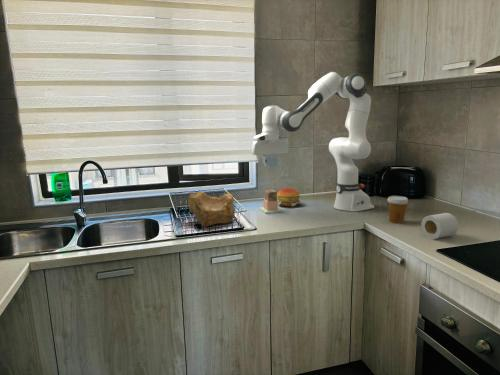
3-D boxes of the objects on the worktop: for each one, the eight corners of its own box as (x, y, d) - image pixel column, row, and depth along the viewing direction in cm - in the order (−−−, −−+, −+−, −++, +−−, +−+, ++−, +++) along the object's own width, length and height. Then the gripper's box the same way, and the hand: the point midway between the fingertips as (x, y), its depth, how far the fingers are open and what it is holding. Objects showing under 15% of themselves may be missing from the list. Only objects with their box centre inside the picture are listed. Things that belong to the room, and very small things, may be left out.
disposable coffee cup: (410, 221, 180) (412, 197, 178) (401, 225, 174) (403, 201, 171) (391, 217, 187) (393, 194, 184) (382, 221, 181) (383, 197, 178)
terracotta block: (273, 206, 206) (273, 198, 205) (277, 209, 201) (277, 200, 200) (263, 207, 205) (263, 199, 203) (267, 210, 199) (267, 201, 198)
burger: (273, 203, 218) (273, 187, 216) (293, 201, 223) (294, 185, 220) (282, 209, 206) (282, 191, 204) (304, 206, 210) (304, 189, 208)
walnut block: (272, 198, 205) (272, 189, 204) (276, 200, 200) (276, 191, 199) (264, 199, 204) (264, 190, 203) (268, 201, 198) (268, 192, 197)
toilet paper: (436, 231, 165) (439, 210, 163) (456, 238, 156) (459, 216, 154) (420, 235, 161) (422, 213, 159) (439, 242, 152) (441, 219, 150)
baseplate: (275, 207, 209) (275, 205, 209) (282, 211, 200) (282, 210, 200) (258, 209, 206) (258, 207, 206) (265, 213, 197) (265, 212, 196)
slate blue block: (272, 166, 201) (272, 156, 200) (277, 165, 195) (277, 156, 195) (264, 166, 199) (264, 157, 199) (268, 166, 193) (268, 156, 193)
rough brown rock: (185, 231, 174) (184, 201, 169) (189, 217, 189) (188, 190, 185) (234, 231, 175) (234, 201, 170) (234, 218, 190) (234, 190, 186)
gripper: (286, 135, 200) (285, 160, 203) (250, 136, 194) (250, 162, 197) (290, 136, 195) (290, 162, 198) (254, 137, 188) (254, 164, 191)
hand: (270, 162), depth 197 cm, fingers closed on slate blue block, 5 cm apart
